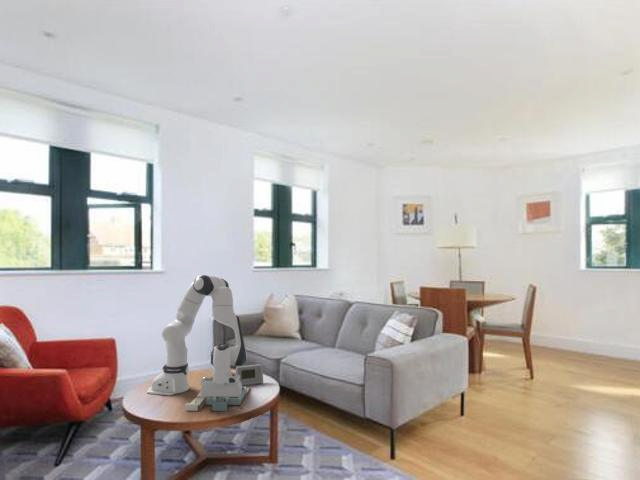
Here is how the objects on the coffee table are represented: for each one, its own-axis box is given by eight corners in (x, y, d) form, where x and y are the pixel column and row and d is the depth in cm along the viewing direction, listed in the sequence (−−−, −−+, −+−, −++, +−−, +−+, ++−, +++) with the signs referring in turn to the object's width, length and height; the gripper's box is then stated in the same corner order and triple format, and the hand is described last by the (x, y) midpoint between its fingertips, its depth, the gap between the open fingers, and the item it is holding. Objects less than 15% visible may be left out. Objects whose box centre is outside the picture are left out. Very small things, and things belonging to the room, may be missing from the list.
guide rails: (200, 409, 187) (200, 407, 187) (215, 388, 215) (215, 387, 215) (240, 409, 187) (240, 407, 187) (250, 389, 215) (250, 387, 215)
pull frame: (201, 410, 184) (201, 402, 185) (215, 392, 209) (215, 384, 210) (237, 410, 185) (237, 402, 185) (246, 392, 210) (246, 384, 210)
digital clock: (235, 387, 218) (235, 368, 218) (235, 382, 226) (236, 364, 227) (263, 385, 221) (263, 367, 221) (262, 380, 230) (263, 363, 230)
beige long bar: (185, 410, 185) (185, 404, 185) (201, 391, 211) (201, 385, 211) (197, 410, 185) (197, 404, 185) (212, 391, 211) (212, 385, 211)
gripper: (199, 379, 185) (198, 407, 185) (240, 379, 185) (240, 407, 185) (202, 375, 191) (202, 402, 191) (242, 375, 192) (242, 402, 191)
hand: (221, 405), depth 188 cm, fingers open, 2 cm apart
